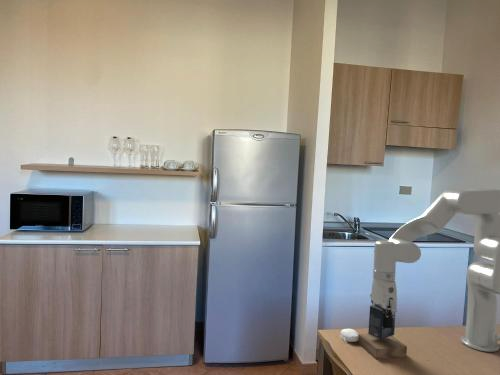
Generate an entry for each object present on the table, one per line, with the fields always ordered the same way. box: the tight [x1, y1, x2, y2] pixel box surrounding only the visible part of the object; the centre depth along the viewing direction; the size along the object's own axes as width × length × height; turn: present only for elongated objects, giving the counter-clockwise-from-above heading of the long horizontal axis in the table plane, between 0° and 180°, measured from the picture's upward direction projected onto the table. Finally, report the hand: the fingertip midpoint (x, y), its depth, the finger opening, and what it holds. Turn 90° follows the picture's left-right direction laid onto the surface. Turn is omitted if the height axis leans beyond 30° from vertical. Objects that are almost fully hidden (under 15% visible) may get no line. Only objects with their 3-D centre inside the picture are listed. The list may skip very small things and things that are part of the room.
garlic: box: [339, 328, 359, 344], centre depth 145 cm, size 8×7×4 cm
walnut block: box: [357, 333, 408, 360], centre depth 137 cm, size 12×12×4 cm
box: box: [367, 304, 396, 339], centre depth 138 cm, size 8×6×11 cm
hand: (381, 323), depth 138 cm, fingers closed on box, 7 cm apart
